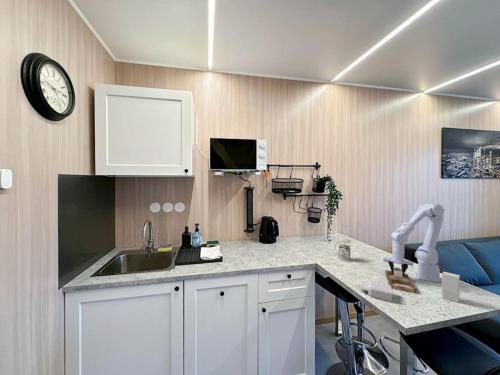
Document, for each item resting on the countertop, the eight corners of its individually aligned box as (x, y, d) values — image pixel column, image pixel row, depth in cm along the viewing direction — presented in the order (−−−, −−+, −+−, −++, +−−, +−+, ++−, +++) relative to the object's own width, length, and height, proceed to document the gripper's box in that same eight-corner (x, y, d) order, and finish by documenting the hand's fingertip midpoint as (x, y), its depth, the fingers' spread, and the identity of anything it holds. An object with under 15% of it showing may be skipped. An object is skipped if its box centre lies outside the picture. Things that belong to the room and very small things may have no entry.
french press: (353, 262, 147) (354, 226, 147) (335, 261, 150) (336, 225, 149) (349, 257, 157) (350, 224, 156) (333, 256, 159) (334, 223, 159)
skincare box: (459, 299, 101) (460, 274, 101) (458, 303, 98) (460, 277, 98) (442, 294, 106) (443, 270, 106) (441, 298, 103) (442, 273, 103)
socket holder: (407, 277, 126) (407, 273, 125) (416, 293, 107) (416, 289, 107) (385, 273, 130) (385, 270, 130) (390, 288, 112) (390, 284, 112)
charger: (357, 286, 114) (390, 293, 106) (356, 293, 106) (392, 302, 98) (357, 277, 114) (391, 284, 106) (356, 284, 106) (392, 292, 98)
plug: (400, 277, 125) (400, 267, 125) (402, 280, 121) (402, 270, 121) (392, 275, 127) (392, 266, 127) (393, 279, 123) (394, 269, 122)
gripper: (384, 252, 123) (383, 275, 124) (415, 256, 117) (414, 281, 117) (382, 249, 130) (382, 271, 130) (412, 253, 123) (411, 276, 123)
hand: (397, 275), depth 124 cm, fingers closed on plug, 4 cm apart
